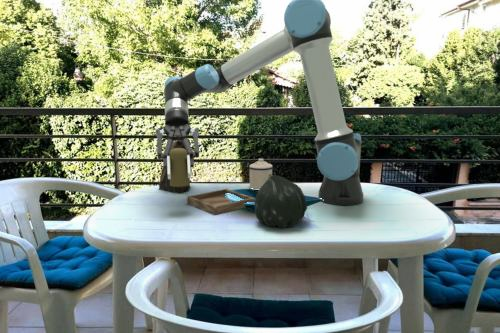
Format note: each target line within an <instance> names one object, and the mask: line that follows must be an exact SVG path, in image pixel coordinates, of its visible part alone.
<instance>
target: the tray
mask: <svg viewBox="0 0 500 333" xmlns="http://www.w3.org/2000/svg"><path fill="white" fill-rule="evenodd" d="M225 193H231V194H234V195H236V196H238V197H240V198H242V199H244V200H240V201H236V202H231V201H229V200H228V199H227V198H226V197H225ZM255 199H256V197H253V196H250V195H246V194H243V193H240V192H237V191H234V190H231V189H227V188H224V189H218V190H213V191H208V192H203V193H200V194H199V193H198V194H194V195H189V196H188V195H187V196H186V202H187V203H186V204H187V205H189V206H193V207H195V208H197V209H200V210H202V211H204V212H207V213H209V214H211V215H213V216H217V215H221V214H225V213H228V212H233V211H237V210H240V209H241V210H242V209H245V208H246V207H245V206H244V204H243V203H247V202H255Z"/></svg>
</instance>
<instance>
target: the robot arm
mask: <svg viewBox="0 0 500 333" xmlns="http://www.w3.org/2000/svg"><path fill="white" fill-rule="evenodd" d="M331 20H332V19H331V15H330V13H329V11H328V10H327V8H326V5H325V3H324V2H323V1H322V0H291V1H290V2H289V4H288V5H286V8H285V11H284V16H283V21H284V27H283V29H282V30H280V31H278V32H276V33H275V34H273V35H272V36H270V37H268V38H266V39H265V40H263V41H262V42H260V43H258V44H256V45H254V46H253V47H251V48H249V49H247V50H246V51H244V52H243V53H241V54H239V55H237V56H235V57H234V58H233V59H230V60H229V61H227V62H225V63H223V64H222V65H220V66H219V67H217V68H215V67H214V66H212V65H211V64H210V63H208V64H204V65H202V66H199V67H198V68H197V69H195V70H194V71H191V72H190V73H188V74H186V75H184V76H183V77H181V76H179V75H175V76H170V77H168V78H167V79H166V80H165V82H164V89H163V93H164V122H165V123H164V127H163V129H159V128H157V129H155V136H156V139H157V140H156V142H157V143H156V156H157V159H158V160H162V161H163V165H164V169H167V173H168V179H171V170H170V156H169V153H170V150H171V147H172V144H173V142H174V141H176V140H182V142H183V143H184V146H185V148H186V151H187V153H188V155H187V165H188V178H190V179H191V177H192V175H191V174H192V171H191V170H190V167H191V168H194V166H195V158H199V157H200V146H199V134H200V133H199V132H200V129H199V128H198V127H196V128H191V125H190V121H189V120H190V118H189V101H190V100H192V99H194V98H196V97H198V96H200V95H202V94H205V93H206V94H207V93H209V94H210V93H212V94H220V93H223V92H225V91H226V90H228V88H229V87H230V86H232V85H234V84H235V83H237V82H239V81H241V80H243V79H245V78H247V77H248V76H250V75H251V74H254V73H255V72H257V71H259V70H261V69H263V68H264V67H267V66H269V65H270V64H272V63H273V62H275V61H277V60H280V59H282V57H284V56H285V57H286V55H288V54H290V53H292V52H293V51H294V52H296V53H297V54H299V55H300V60H301V64H302V68H303V73H304V76H305V77H304V78H305V82H306V86H307V90H308V95H309V98H310V104H311V108H312V112H313V115H314V120H315V124H316V129H317V135H316V136H315V138H314V144H315V147H316V153H317V158H316V164H317V168H318V171H320V173H321V174H322V175H323V179H322V182H321V184H320V187H319V190H318V194H317V195H318V197H317V198H318V199H319V198H322V199H324V201H322V202H323V203H326V204H330V205H336V206H354V205H359V204H362V203H363V202H364V192H363V187H362V185H361V179H360V167H361V152H362V151H361V150H362V149H361V148H362V136H361V134H360V133H357V132H356V133H354V131H353V129H352V128H350V127H349V126H347V122H346V118H345V114H344V109H343V106H342V105H343V104H342V100H341V95H340V90H339V86H338V82H337V77H336V73H335V72H336V71H335V69H334V64H333V60H332V55H331V51H330V45H331V43H332V41H333V35H332V29H331ZM190 134H191V136H192V137H193V147H194V148H193V149H194V151H193V149H192V145H190V144H189V141H188V139H189V138H188V136H189V135H190ZM164 135H165V136H167V141H166V144H165V147H164V150H163V139H162V138H163V137H164ZM187 138H188V139H187Z"/></svg>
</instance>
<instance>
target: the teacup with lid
mask: <svg viewBox="0 0 500 333" xmlns="http://www.w3.org/2000/svg"><path fill="white" fill-rule="evenodd" d="M273 167H274V166H273V165H272V164H271V163H268V162H267V161H264V158H258V161H255V162H254V163H251V164H249V165H248V168H249V189H250V188H253V189H260V188H261V187H262V186H263V185H264V183H265V182H266V181H267V180H268V178H269V177H270V176H271V175H273Z"/></svg>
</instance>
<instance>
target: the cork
mask: <svg viewBox="0 0 500 333" xmlns="http://www.w3.org/2000/svg"><path fill="white" fill-rule="evenodd" d="M169 156H170V158H171V160H172V162H171V179H170V186H173V187H182V186H187V185H189V184H190V185H191V180H190V181H189V178H188V170H187V165H186V160H185V159H186V157H187V151H186V150H185V149H183V148H174V149H171V150H170V153H169Z"/></svg>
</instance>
